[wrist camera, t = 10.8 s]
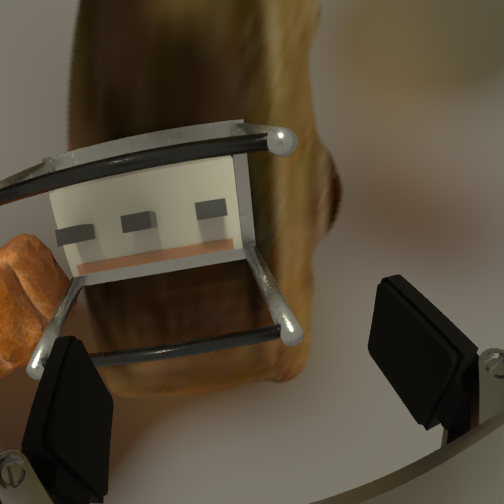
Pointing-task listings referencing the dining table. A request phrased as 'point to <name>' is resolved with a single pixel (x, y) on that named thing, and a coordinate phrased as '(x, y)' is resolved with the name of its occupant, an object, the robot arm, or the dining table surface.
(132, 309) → the dining table surface
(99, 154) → the frame
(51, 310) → the bread
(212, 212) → the grey matte cuboid
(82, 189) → the switch box
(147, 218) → the dark grey rectangular box
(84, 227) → the grey rectangular block
